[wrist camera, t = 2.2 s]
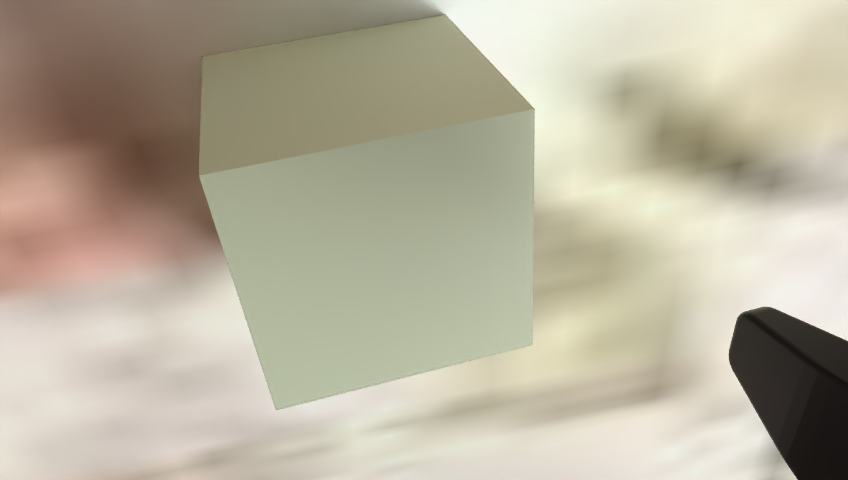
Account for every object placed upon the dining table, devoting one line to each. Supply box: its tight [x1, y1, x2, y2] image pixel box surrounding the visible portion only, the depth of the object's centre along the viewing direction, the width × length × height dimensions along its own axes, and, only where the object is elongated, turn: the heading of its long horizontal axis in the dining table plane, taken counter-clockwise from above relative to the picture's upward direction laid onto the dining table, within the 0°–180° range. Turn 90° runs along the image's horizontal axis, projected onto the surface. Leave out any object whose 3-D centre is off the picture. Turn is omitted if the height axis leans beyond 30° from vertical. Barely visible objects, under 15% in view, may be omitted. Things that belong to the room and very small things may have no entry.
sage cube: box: [199, 15, 535, 410], centre depth 13 cm, size 5×5×5 cm
